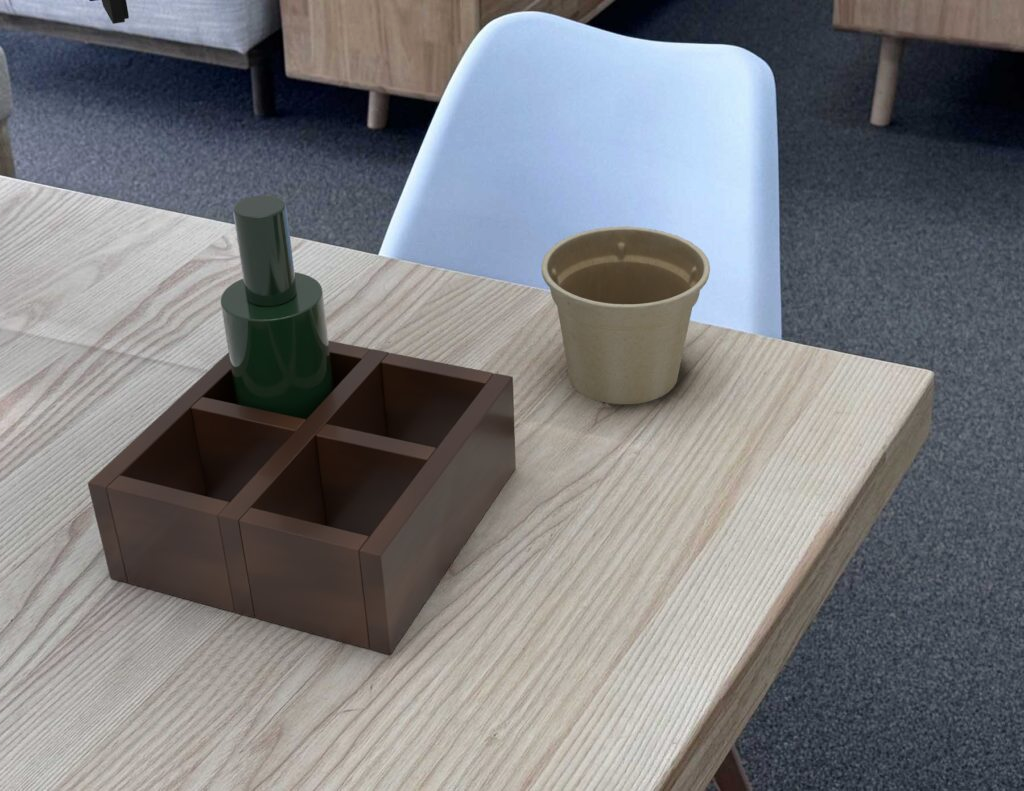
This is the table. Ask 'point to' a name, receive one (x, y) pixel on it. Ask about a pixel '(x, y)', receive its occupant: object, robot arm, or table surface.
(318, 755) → the table surface
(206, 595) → the box
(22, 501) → the table surface
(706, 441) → the table surface
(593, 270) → the flower pot
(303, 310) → the bottle
